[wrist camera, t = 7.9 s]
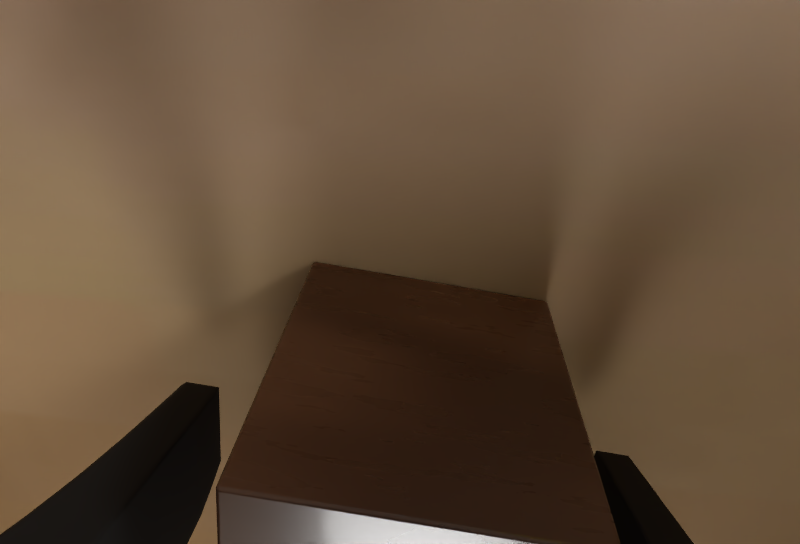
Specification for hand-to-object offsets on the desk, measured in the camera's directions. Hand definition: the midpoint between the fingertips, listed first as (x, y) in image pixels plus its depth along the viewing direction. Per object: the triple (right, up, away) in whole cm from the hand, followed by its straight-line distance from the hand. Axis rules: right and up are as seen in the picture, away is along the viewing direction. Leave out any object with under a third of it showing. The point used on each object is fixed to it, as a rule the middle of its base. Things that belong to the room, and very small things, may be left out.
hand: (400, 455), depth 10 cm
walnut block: (0, +1, +1) cm, 2 cm away
